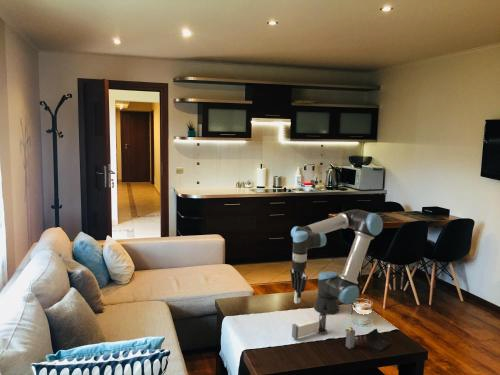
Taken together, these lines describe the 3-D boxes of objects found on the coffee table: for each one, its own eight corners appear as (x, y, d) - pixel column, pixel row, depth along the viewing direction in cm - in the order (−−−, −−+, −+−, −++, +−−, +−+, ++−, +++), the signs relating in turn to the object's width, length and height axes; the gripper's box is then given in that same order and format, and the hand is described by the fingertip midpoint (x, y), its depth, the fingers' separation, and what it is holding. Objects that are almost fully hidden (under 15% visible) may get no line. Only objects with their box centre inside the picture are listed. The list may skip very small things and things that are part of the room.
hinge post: (313, 330, 226) (314, 313, 225) (322, 328, 229) (323, 311, 228) (321, 335, 221) (322, 318, 220) (329, 333, 224) (330, 316, 222)
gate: (291, 336, 217) (292, 324, 216) (315, 330, 225) (315, 318, 223) (295, 339, 214) (295, 326, 213) (318, 332, 222) (319, 320, 221)
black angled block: (384, 350, 206) (374, 330, 209) (372, 354, 210) (363, 335, 213) (392, 344, 215) (383, 325, 219) (380, 348, 219) (371, 330, 222)
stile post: (344, 346, 211) (345, 328, 210) (349, 344, 213) (351, 326, 212) (348, 349, 209) (349, 330, 207) (354, 347, 211) (355, 329, 209)
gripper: (286, 257, 223) (284, 299, 227) (301, 265, 212) (298, 308, 215) (297, 255, 227) (295, 296, 231) (312, 263, 215) (310, 306, 219)
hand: (297, 302), depth 223 cm, fingers closed
